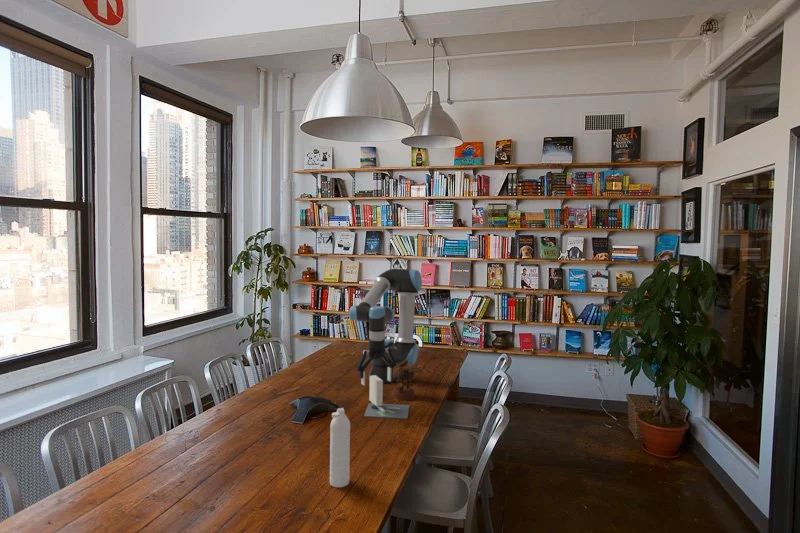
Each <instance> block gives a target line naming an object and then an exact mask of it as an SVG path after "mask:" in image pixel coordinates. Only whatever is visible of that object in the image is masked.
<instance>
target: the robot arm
mask: <svg viewBox="0 0 800 533" xmlns="http://www.w3.org/2000/svg"><path fill="white" fill-rule="evenodd" d="M422 280H423V279H422V275H421V273H420V271H419V270H417V269H412V268H411V269H410V268H409V269H408V268H390V269H387V270H385V271H383V272H382V273H381V274H379V275H378V276H377V277H376V279H375V280H374V283H373V285H372V287H371V288H370V289H369V291H368V292H367V293H366V295H365V296H364V297H363V298H362V300H361V301H360V302H359V304H358V305H352V306H350V308H349V311H348V315H349V316H348V317H349V319H350V320H351V321H356V322H369V325H368V327H369V329H368V336H369V337H368V339H369V340H368V350H365V349H363V350H362V353H361V356H360V358H359V360H358V363H357V365H356V368H355V369H356V371H358V372H359V378H360V382H361V383H360V384H361V385H363V386H364V387H365V386H366V371H365V370H366V369H367V367H368V366H369V365H370V364H371V367H370V371H369V373H368V379H367V380H368V381H369V382H370V376H372V375H376V376H377V377H379V378H380V379H382V380H383V385H384V384H391V383H393V382H394V381H395V379H396V378H395V373H394V368H395V367H394V366H397V365H398V364H399V363H400V362H402V361H404V360H408V363H407V365H406V366H414V364H416V361H417V359H418V355H419V349H420V348H419V346H418V345H417V344H416V340H415V339H414V325H415V306H416V304H415V303H416V296H417V295H418V294H419V291H421V289H422V286H423V281H422ZM392 289H393V290H397V294H399V311H398V312H399V313H398V314H399V315H398V316H399V317H398V330H397V331H398V333H397V338H395V340H394V341H393V340H392V339H389V338H386V324H388V323H390V322H391V321H392V320H393V319H394V318H395V311H394V309H393V308H392V307H390V306H380V305H379V306H377V305H378V303H379V302H380V300H381V299H382V297H384V295H385V294H386V292H388V291H390V290H392ZM368 354H369V355H368Z"/></svg>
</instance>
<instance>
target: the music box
mask: <svg viewBox="0 0 800 533" xmlns="http://www.w3.org/2000/svg"><path fill="white" fill-rule="evenodd" d="M407 363H408V360H404V361H402V362H400V363H399V364H397V366H394V368H396V369H397V370H396V371H395V372H396V373H395V374H396V377H397V379H396V383H397V385H396V387H395V389H394V391H393V398H394V399H396V400H398V401H411V400H414V398H415V390H414V389H413V388H411V387H409V385H410V383H412V380H411V379H412V378H414V376H415V371H414V369H412V368H409V367H408V365H407Z"/></svg>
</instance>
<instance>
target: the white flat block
mask: <svg viewBox="0 0 800 533" xmlns="http://www.w3.org/2000/svg"><path fill="white" fill-rule="evenodd" d="M383 386H384V384H383V380H382V379H380V378H379V377H377V376H376V375H372V376H370V381H369V387H368V388H369V398H368V400H369V401H370V403H371V407H372V408H378V409H380V410H381V411H382V412H383V413H384V412H385V410H384V409H383V408H382V407H380V406H382V404H383V400H384V399H383V395H384V394H383V393H384V391H383V390H384V389H383V388H384V387H383Z"/></svg>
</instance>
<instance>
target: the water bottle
mask: <svg viewBox="0 0 800 533" xmlns="http://www.w3.org/2000/svg"><path fill="white" fill-rule="evenodd" d="M345 411H346V410H345V409H344V407H338V408H337V410H336V412H335V411H334V412H332V413H331V417H332V419H331V422H330V425H329V429H330V434H329V435H330V437H329V439H330V440H329V441H330V442H329V445H330V446H329V453H330V454H329V484H330V486H332V487H334V488H345V487H347V486H348V485H349V484H350V466H351V463H350V461H351V458H350V456H351V452H350V451H351V442H350V441H351V422H350V419H349V418H348V416H347V415H346V413H345Z"/></svg>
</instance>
